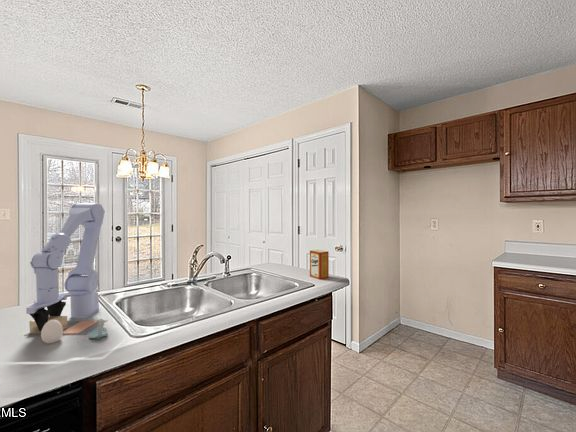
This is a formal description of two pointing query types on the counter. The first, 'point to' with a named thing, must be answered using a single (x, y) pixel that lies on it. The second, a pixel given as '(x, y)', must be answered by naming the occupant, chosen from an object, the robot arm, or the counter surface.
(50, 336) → the egg
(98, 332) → the pacifier
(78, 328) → the terracotta strip
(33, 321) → the tan wooden block
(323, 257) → the baking soda box
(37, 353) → the counter surface
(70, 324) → the rubber mat
